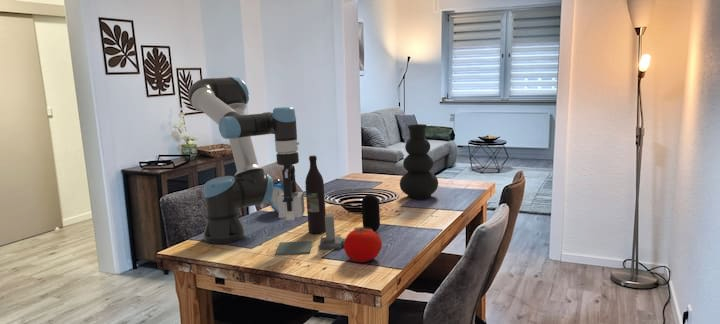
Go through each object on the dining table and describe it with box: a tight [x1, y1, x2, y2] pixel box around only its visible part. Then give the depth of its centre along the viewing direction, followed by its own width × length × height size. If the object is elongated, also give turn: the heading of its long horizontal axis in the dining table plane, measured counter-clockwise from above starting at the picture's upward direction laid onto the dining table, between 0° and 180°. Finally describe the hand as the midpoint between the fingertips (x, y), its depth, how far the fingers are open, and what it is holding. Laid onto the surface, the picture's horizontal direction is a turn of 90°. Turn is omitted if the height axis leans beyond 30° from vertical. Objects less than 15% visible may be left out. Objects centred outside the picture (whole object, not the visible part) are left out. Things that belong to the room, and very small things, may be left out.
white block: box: [277, 191, 305, 219], centre depth 177 cm, size 8×8×7 cm
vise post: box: [319, 214, 373, 251], centre depth 180 cm, size 19×8×11 cm, turn 91°
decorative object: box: [361, 193, 381, 233], centre depth 193 cm, size 7×7×15 cm
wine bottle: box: [305, 154, 327, 235], centre depth 196 cm, size 7×7×30 cm
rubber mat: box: [274, 240, 313, 256], centre depth 180 cm, size 12×12×1 cm
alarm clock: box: [268, 178, 284, 213], centre depth 231 cm, size 13×6×15 cm, turn 53°
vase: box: [399, 123, 439, 200], centre depth 243 cm, size 18×18×35 cm
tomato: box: [343, 228, 383, 263], centre depth 165 cm, size 11×12×10 cm
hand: (292, 216), depth 178 cm, fingers closed on white block, 8 cm apart
